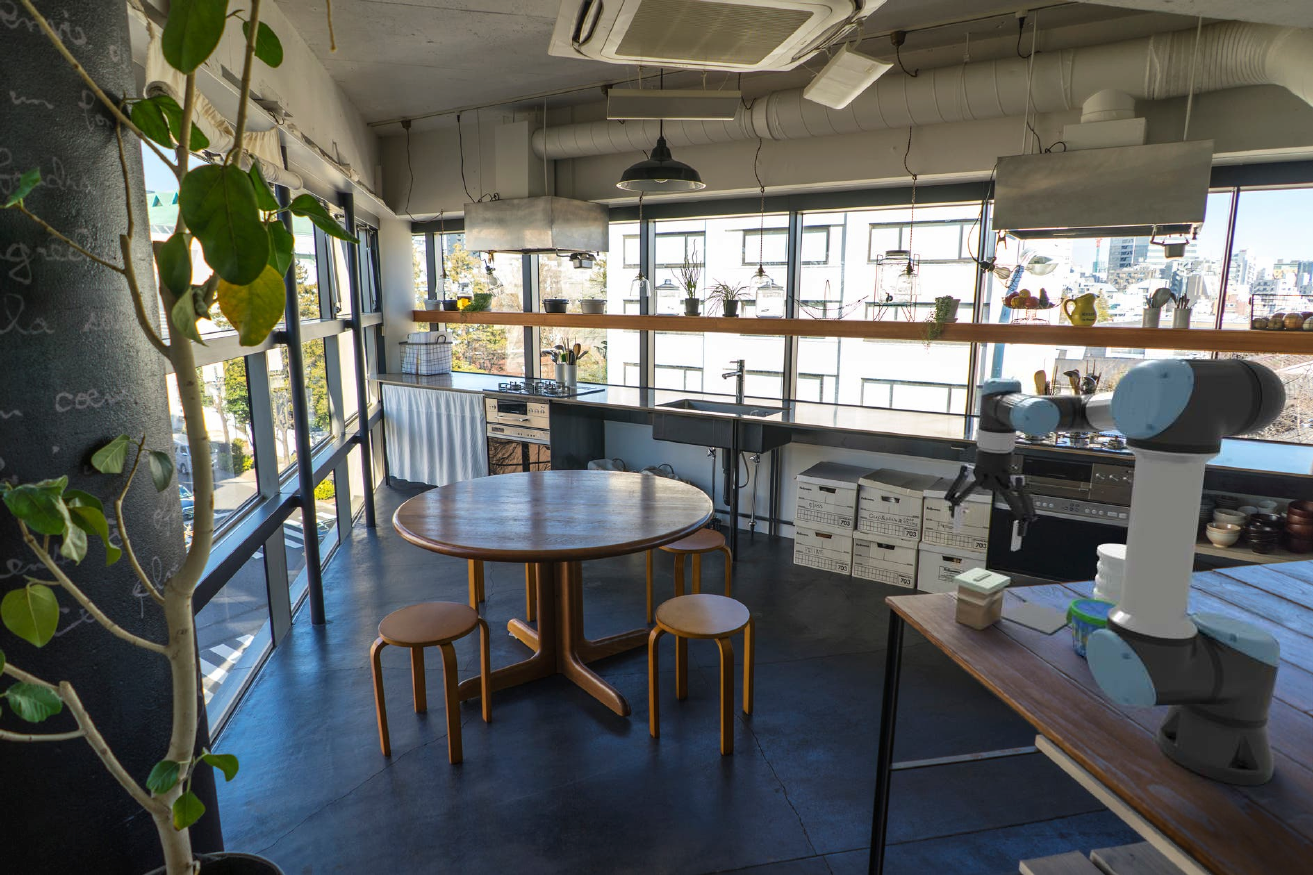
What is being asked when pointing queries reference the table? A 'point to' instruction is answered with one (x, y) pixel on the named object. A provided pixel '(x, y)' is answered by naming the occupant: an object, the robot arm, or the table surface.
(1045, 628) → the mat
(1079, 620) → the snack cup
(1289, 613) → the table surface
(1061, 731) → the table surface
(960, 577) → the lid
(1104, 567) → the decorative container
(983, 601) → the walnut box
